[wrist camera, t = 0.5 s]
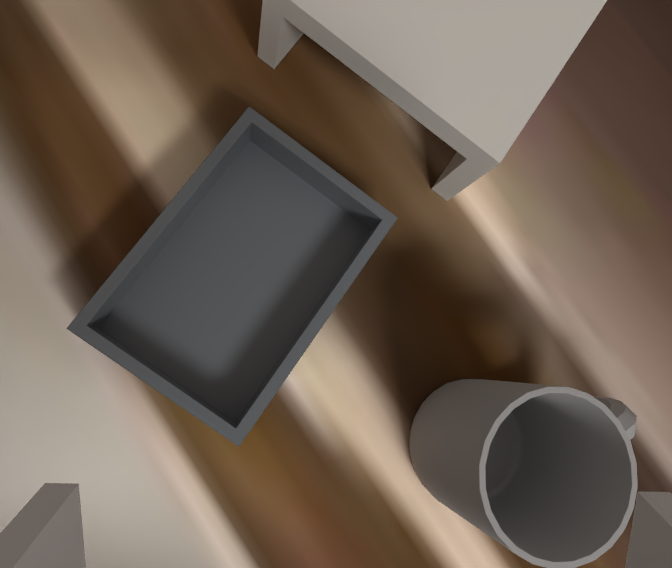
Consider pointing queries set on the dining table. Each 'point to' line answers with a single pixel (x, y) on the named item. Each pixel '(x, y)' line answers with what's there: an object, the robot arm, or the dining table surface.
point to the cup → (530, 465)
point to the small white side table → (443, 62)
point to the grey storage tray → (235, 276)
